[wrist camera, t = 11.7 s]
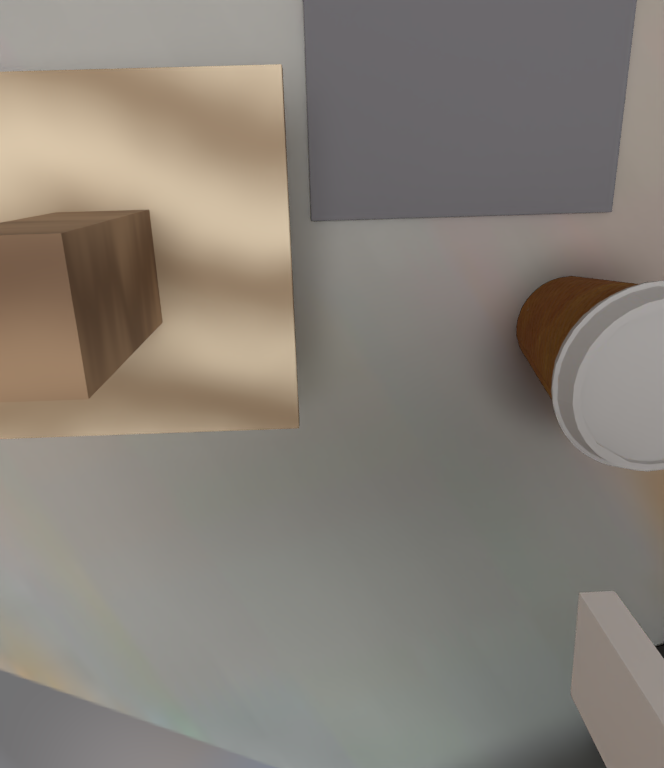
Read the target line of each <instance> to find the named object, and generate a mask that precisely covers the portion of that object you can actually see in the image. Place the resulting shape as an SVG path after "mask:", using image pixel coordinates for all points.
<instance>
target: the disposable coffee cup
mask: <svg viewBox="0 0 664 768" xmlns="http://www.w3.org/2000/svg"><path fill="white" fill-rule="evenodd" d="M517 339H518V343H519V346H520V348H521V350H522V353H523V354H524V355H525V357H526V358H527V360H528V362H529V363H530V365H531V367H532V368H533V370H534V372H535V373H536V375H537V377H538V378H539V380H540V381H541V383H542V385H543V386H544V388H545V390H546V391H547V392H548V394H549V396H550V398H551V399H552V403H553V410H554V412H555V415H556V418H557V420H558V423H559V425H560V428H561V429H562V431H563V433H564V434H565V435H566V437H567V438H568V439H569V440H570V441H571V443H572V444H573V445H574V446H575V447H576V448H577V449H579V450H580V451H581V452H582V453H583V454H585V455H587V456H588V457H590V458H592V459H594V460H596V461H598V462H601V463H604V464H606V465H610V466H615V467H620V468H627V469H630V470H639V471H655V470H663V469H664V281H655V282H645V283H642V284H634V283H624V282H616V281H609V280H599V279H593V278H582V277H574V276H569V277H562V278H557V279H554V280H551V281H549V282H547V283H546V284H544V285H542V286H541V287H539V288H538V289H537V290H536V291H534V292H533V293H532V295H531V296H530V297H529V298H528V299H527V301H526V302H525V304H524V305H523V307H522V309H521V312H520V315H519V317H518V322H517Z"/></svg>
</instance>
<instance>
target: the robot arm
mask: <svg viewBox="0 0 664 768" xmlns="http://www.w3.org/2000/svg"><path fill="white" fill-rule="evenodd" d="M571 696H572V698H573V701H574V703H575V705H576V707H577V709H578V711H579V713H580V715H581V717H582V719H583V721H584V723H585V725H586V727H587V729H588V731H589V733H590V735H591V737H592V739H593V741H594V743H595V745H596V747H597V749H598V751H599V753H600V755H601V757H602V759H603V761H604V763H605V765H606V767H607V768H664V645H663V646H660V647H658V648H656V647H655V646H654V645H653V643H652V642H651V640H650V639H649V638H648V636H647V635H646V634H645V632H644V631H643V629H642V628H641V627H640V625H639V624H638V623H637V621H636V620H635V618H634V617H633V616H632V614H631V613H630V611H629V610H628V609H627V607H626V606H625V605H624V603H623V602H622V600H621V599H620V598H619V596H618V595H617V594H616V592H615V591H601V592H582V593H579V601H578V613H577V624H576V636H575V648H574V660H573V671H572V683H571Z"/></svg>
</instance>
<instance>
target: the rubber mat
mask: <svg viewBox="0 0 664 768" xmlns="http://www.w3.org/2000/svg"><path fill="white" fill-rule="evenodd" d="M303 2H304V29H305V57H306V84H307V112H308V140H309V167H310V195H311V221H325V220H358V219H392V218H425V217H458V216H491V215H524V214H557V213H590V212H612V205H613V197H614V189H615V180H616V172H617V163H618V155H619V146H620V138H621V129H622V121H623V112H624V104H625V95H626V87H627V78H628V70H629V61H630V53H631V45H632V36H633V28H634V19H635V11H636V2H637V0H303Z"/></svg>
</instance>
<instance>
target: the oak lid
mask: <svg viewBox="0 0 664 768" xmlns="http://www.w3.org/2000/svg"><path fill="white" fill-rule="evenodd" d="M292 428H299V401H298V380H297V359H296V339H295V318H294V297H293V276H292V256H291V235H290V214H289V193H288V173H287V152H286V131H285V110H284V90H283V69H282V65H281V64H278V65H240V66H202V67H164V68H126V69H89V70H51V71H13V72H0V439H13V438H41V437H69V436H97V435H125V434H152V433H180V432H208V431H236V430H264V429H292Z"/></svg>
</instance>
